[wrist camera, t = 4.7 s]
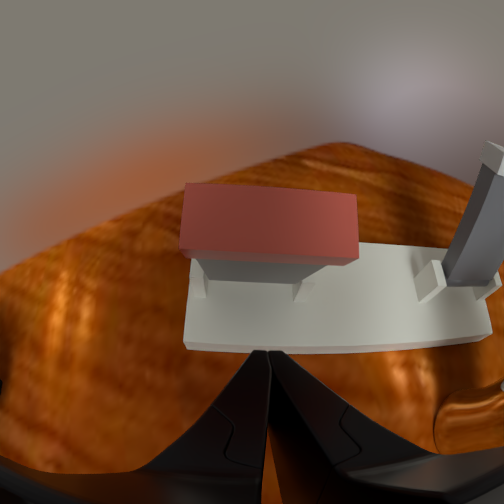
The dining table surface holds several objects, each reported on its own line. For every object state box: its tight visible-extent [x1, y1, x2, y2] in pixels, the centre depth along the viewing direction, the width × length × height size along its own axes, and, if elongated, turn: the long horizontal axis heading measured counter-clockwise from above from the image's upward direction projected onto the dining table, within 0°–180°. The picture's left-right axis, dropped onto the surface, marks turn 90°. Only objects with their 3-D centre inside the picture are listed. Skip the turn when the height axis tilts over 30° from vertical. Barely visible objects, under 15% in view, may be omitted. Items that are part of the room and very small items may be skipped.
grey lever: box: [441, 140, 504, 287], centre depth 17 cm, size 2×5×11 cm, turn 88°
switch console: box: [183, 242, 502, 354], centre depth 21 cm, size 8×24×5 cm, turn 89°
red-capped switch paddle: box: [179, 183, 359, 284], centre depth 14 cm, size 2×5×11 cm, turn 89°
